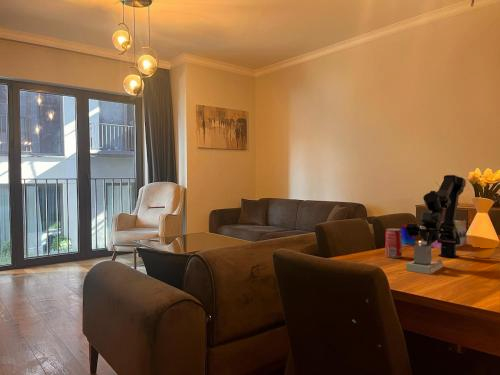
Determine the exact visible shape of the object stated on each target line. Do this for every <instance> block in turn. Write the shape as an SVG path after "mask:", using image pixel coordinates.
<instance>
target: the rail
mask: <svg viewBox="0 0 500 375" xmlns="http://www.w3.org/2000/svg"><path fill="white" fill-rule="evenodd" d="M405 265H406V266H405V268H406V269H405V270H406V271H408V272H413V273H420V274H427V275H432V274H433V273H435V272H436V271H439V270H440V269H442V268H444V267H445V265H444V263H443V260H442V259H438V260H436V261H431V264H430V265H428V266H424V265H418V264H414V260H412V261H410V262H406V264H405Z"/></svg>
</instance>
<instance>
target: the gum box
mask: <svg viewBox="0 0 500 375" xmlns="http://www.w3.org/2000/svg"><path fill="white" fill-rule="evenodd" d="M443 221H444V219H442V220H441V223H443ZM455 226H456V228H457V230H458V234H459V237H460V245H456V247H461V246H467V220H466V219H465V220H457V219H456V218H455ZM443 241H445V240H443ZM453 242H455V241H453ZM431 248H433V249H434V248H435V249H440V250H441V243H438V241H437V240H436V241H435V242H433V243H432V244H431Z"/></svg>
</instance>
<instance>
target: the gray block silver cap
mask: <svg viewBox="0 0 500 375" xmlns="http://www.w3.org/2000/svg"><path fill="white" fill-rule="evenodd" d="M415 244H416V245H414V247H413V261H414V264H418V265H424V266H428V265H430V264H431V262H432V247H431V245H427V241H423V239H422V240H421V239H420V240H418V243H415Z"/></svg>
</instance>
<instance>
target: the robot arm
mask: <svg viewBox="0 0 500 375" xmlns="http://www.w3.org/2000/svg"><path fill="white" fill-rule="evenodd" d="M466 185H467V183H466V179H465V178H464V177H463V176H462V177H461V176H458V175H455V174H446V175H443V181H442V183H441V184H440V186H439V189H438V190H437V191H436V190H430V192H427V193H426V194H425V195H423V197H422V199H423V202H424V204H425V207H426V210H428V212H421V214H420V221H421V222H422V223H421V225H420V226H419V227H418V224H417V223H414V222H413V223H411V222H409V223H407V224H406V223H405V224H406V227H405V228H406V230H407V233H408V235H410V236H416V237H417V236H419V235H420V237H421V239H422V240H423V241H427V245H431V244H432V243H433V242H435V241H436V240H437V241H438V243H441V249H440V254H437V256H439V257H442V258H449V259H452V258H453V259H454V258H460V255H458V254H457V246H456V245H460V237H459V234H458V230H457V228H456V226H455V219H456V216H457V212H458V211H457V210H458V205H459V204H458V202H459V197H460V195H462V193H463V192H464V190H465V187H466ZM444 212H445V213H444ZM441 220H444V221H443V223H441ZM443 240H445V241H443ZM453 241H455V242H453Z"/></svg>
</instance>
